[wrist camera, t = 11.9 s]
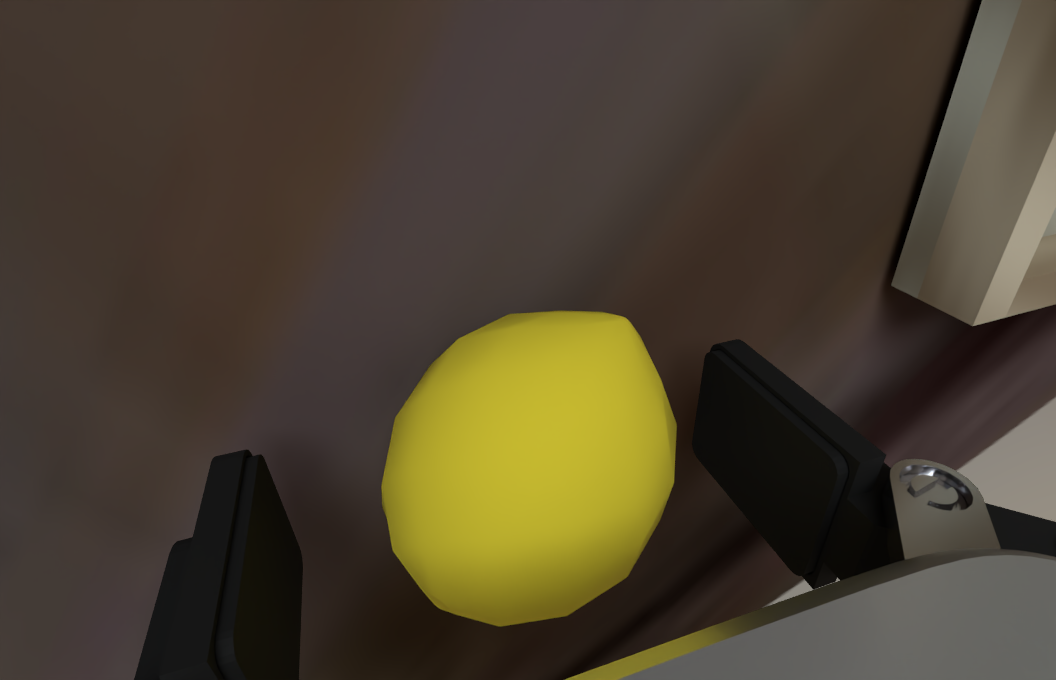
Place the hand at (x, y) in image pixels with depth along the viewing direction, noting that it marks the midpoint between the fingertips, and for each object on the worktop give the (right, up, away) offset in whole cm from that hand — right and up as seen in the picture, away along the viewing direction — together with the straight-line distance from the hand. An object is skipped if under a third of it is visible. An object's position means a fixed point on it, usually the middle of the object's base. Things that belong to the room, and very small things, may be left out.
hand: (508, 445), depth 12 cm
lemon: (0, +1, +2) cm, 2 cm away
